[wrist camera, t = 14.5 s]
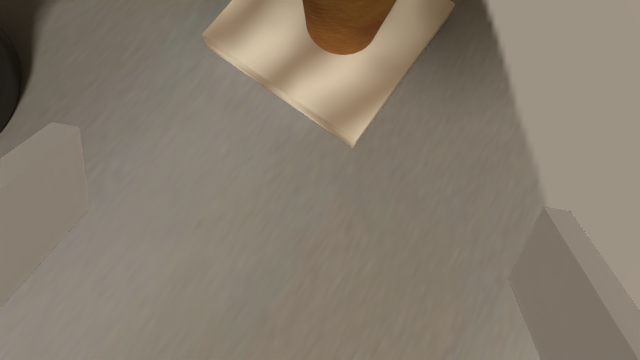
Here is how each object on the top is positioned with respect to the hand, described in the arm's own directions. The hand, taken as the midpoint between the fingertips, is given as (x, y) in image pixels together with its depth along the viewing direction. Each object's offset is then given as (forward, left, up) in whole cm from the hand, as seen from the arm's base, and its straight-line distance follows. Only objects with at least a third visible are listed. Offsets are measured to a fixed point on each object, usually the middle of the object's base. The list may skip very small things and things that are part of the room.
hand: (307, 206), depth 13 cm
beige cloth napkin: (-10, +18, -25) cm, 32 cm away
